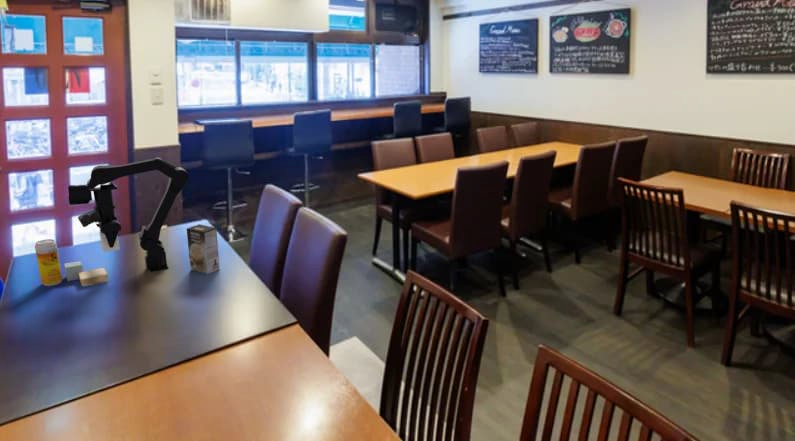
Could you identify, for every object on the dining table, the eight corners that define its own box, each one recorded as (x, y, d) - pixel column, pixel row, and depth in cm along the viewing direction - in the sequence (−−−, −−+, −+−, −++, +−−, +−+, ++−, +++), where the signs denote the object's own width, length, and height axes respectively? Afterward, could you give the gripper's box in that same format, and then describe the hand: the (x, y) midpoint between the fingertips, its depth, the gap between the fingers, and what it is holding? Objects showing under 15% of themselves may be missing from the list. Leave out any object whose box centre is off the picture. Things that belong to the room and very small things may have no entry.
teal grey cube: (82, 274, 193) (80, 260, 192) (84, 278, 189) (82, 264, 188) (66, 276, 190) (64, 263, 189) (67, 281, 187) (65, 267, 185)
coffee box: (189, 270, 197) (185, 228, 193) (203, 264, 203) (199, 223, 198) (207, 274, 193) (203, 231, 189) (220, 269, 199) (217, 227, 194)
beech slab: (105, 275, 193) (103, 267, 192) (108, 282, 186) (107, 274, 186) (79, 280, 188) (78, 272, 187) (82, 287, 182) (80, 279, 181)
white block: (117, 245, 194) (115, 229, 193) (119, 249, 190) (117, 233, 189) (101, 248, 191) (99, 232, 190) (103, 251, 187) (101, 235, 186)
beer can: (52, 287, 181) (45, 244, 177) (37, 285, 182) (29, 243, 178) (66, 280, 187) (59, 239, 183) (51, 279, 188) (44, 238, 184)
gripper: (74, 200, 189) (81, 242, 193) (80, 211, 175) (87, 256, 179) (110, 196, 195) (115, 237, 200) (118, 206, 181) (124, 250, 185)
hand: (110, 245), depth 190 cm, fingers closed on white block, 5 cm apart
